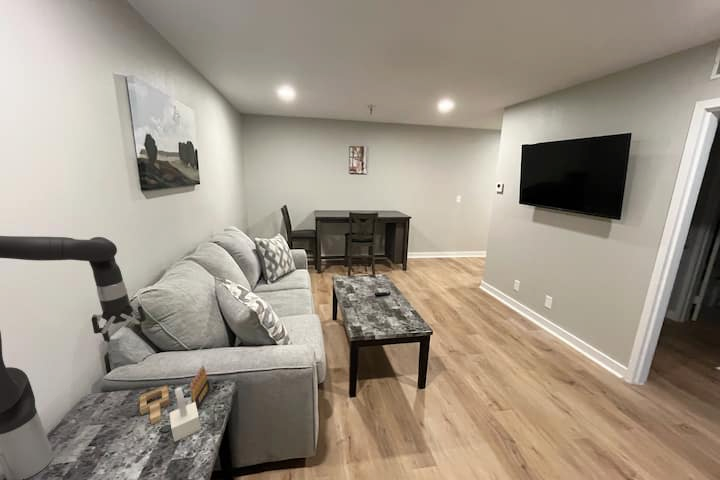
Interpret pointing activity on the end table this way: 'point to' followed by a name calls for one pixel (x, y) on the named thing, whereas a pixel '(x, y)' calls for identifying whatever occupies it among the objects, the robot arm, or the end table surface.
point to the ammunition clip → (199, 387)
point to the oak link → (154, 403)
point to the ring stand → (184, 418)
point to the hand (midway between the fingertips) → (124, 336)
